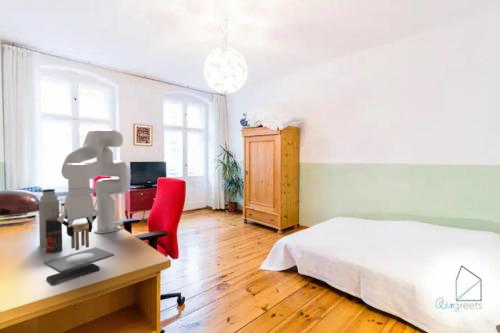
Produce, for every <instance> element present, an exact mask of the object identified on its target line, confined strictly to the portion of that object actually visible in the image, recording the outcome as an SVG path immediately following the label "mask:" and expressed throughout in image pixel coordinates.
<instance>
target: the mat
mask: <svg viewBox="0 0 500 333" xmlns="http://www.w3.org/2000/svg"><path fill="white" fill-rule="evenodd" d="M114 255H115V253H113V252H110V251H107V250H104V249H102V248H99V247H92V248H88V249H84V250H80V251H78V252H74V253H71V254H67V255H64V256H60V257H57V258H53V259H49V260H45V261H43V263H44V264H45V265H46V266H48V267H50V268H52V269H53V270H56V271H58V273H61V272H64V271H68V270H71V269H75V268H78V267H81V266H85V265H88V264H93V263H94V262H98V261H101V260H103V259H106V258H107V259H108V258H110V257H113V256H114Z"/></svg>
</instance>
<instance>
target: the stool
mask: <svg viewBox="0 0 500 333" xmlns="http://www.w3.org/2000/svg"><path fill="white" fill-rule="evenodd" d="M72 227H73V236H70V239H71V241H70V242H71V249H75V251H79V250H80V244H81V247H83V246H84V247H85V248H89V247H90V236H89V235H90V234H89V233H90V232H89V223H87V222H76V223H73V224H72ZM80 234H81V235H80ZM80 238H81V239H80ZM80 240H81V242H80Z"/></svg>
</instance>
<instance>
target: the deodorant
mask: <svg viewBox="0 0 500 333" xmlns="http://www.w3.org/2000/svg"><path fill="white" fill-rule="evenodd" d="M57 219H58V218H52V219H47V220H46V247H45V253H46V254H48V255H49V254H55V253H60V252H62V251H63V224H62V223H61V222H59V221H58V220H57Z"/></svg>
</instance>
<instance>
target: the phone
mask: <svg viewBox="0 0 500 333" xmlns="http://www.w3.org/2000/svg"><path fill="white" fill-rule="evenodd" d="M100 270H101V268H100V266H98V265H96V264H95V263H88V264H85V265H82V266H79V267H76V268H73V269H70V270H67V271H64V272H58V273H54V274H52V275H48V276H46V281H47V282H48V283H49V284H50V285H51V286H56V285H60V284H62V282H63V283H66V282H68V280H69V281H71V279H72V280H74V278H75V279H78V278H80V276H81V277H83V276H84V277H85V276H87V275H90V274H92V273H96V272H99V271H100ZM77 277H78V278H77ZM65 281H66V282H65Z"/></svg>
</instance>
